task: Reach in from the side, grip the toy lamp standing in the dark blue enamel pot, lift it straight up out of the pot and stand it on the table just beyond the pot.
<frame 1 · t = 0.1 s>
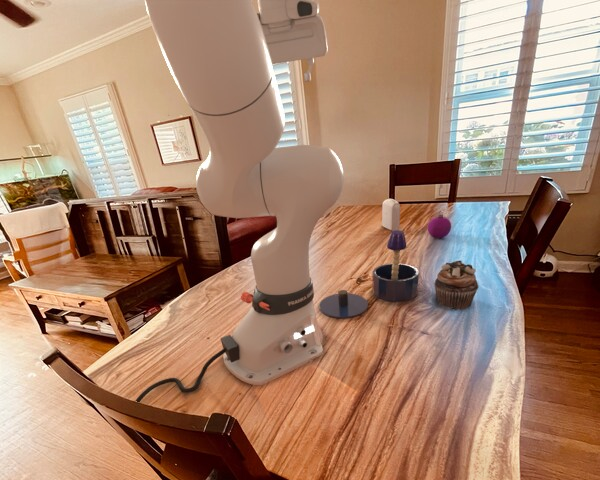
hand: (289, 83, 79), 52 cm above the table, tool tilted 20°, fingers open, 8 cm apart
pot lid: (343, 305, 80), point 1 cm above the table
pot: (394, 293, 84), on the table
christmas ornament: (438, 238, 120), on the table
toy lamp: (394, 292, 84), resting on pot
cupcake: (453, 302, 78), on the table
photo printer: (390, 228, 138), on the table
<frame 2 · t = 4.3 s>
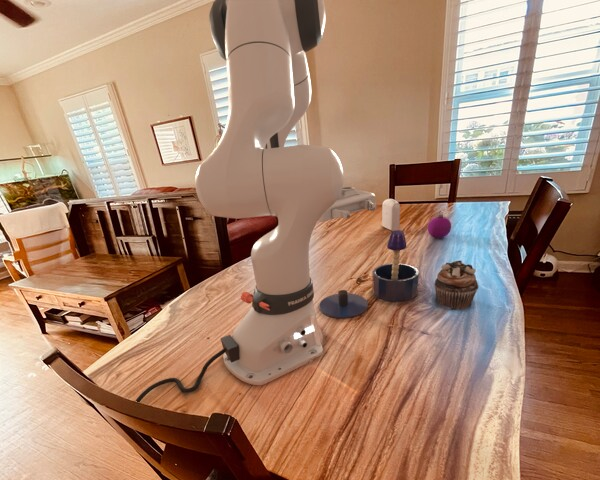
hand: (361, 211, 84), 21 cm above the table, tool horizontal, fingers open, 8 cm apart
nothing on the table moved.
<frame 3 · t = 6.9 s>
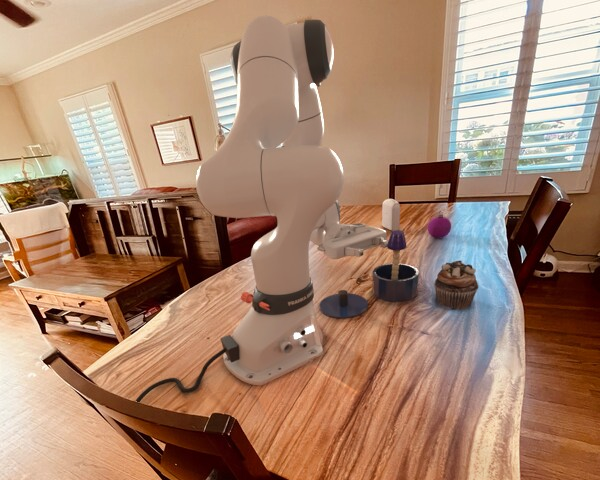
hand: (374, 249, 85), 11 cm above the table, tool horizontal, fingers open, 8 cm apart
nothing on the table moved.
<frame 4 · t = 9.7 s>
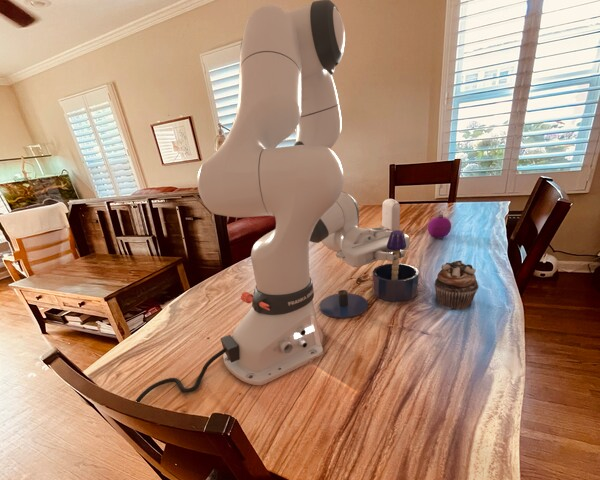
hand: (398, 256, 78), 11 cm above the table, tool horizontal, fingers closed on toy lamp
toy lamp: (394, 292, 84), resting on pot, touching gripper
everything else where it was.
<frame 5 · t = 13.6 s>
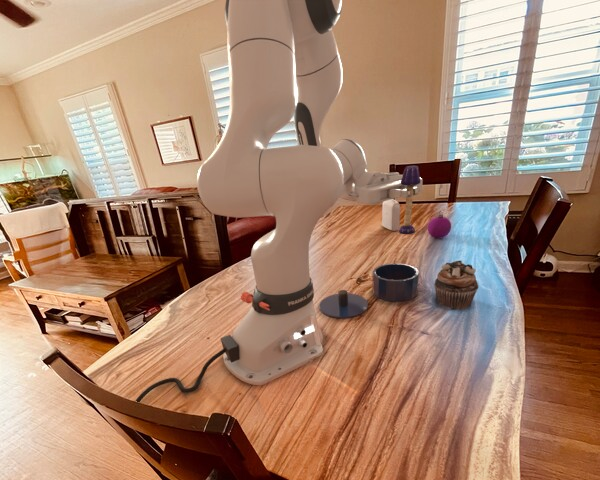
hand: (412, 192, 79), 25 cm above the table, tool horizontal, fingers closed on toy lamp
toy lamp: (407, 233, 85), point 14 cm above the table, touching gripper
everything else where it was.
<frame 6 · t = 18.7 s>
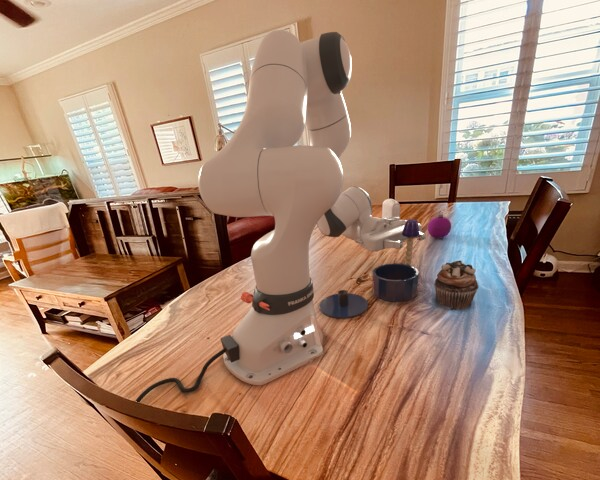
hand: (412, 241, 87), 11 cm above the table, tool horizontal, fingers open, 8 cm apart
toy lamp: (407, 276, 93), on the table
everything else where it was.
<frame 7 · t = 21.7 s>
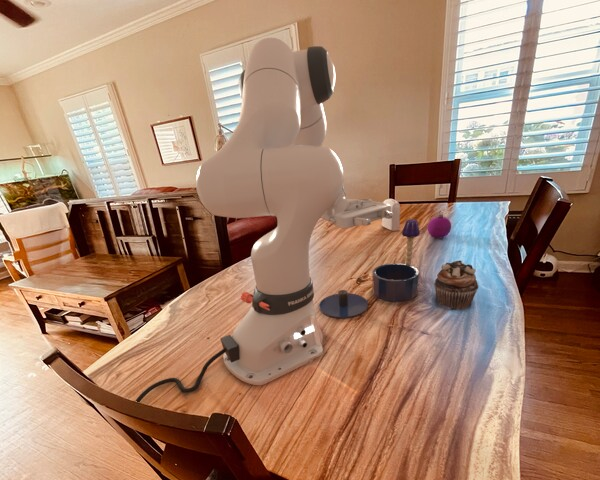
hand: (380, 219, 95), 15 cm above the table, tool horizontal, fingers open, 8 cm apart
nothing on the table moved.
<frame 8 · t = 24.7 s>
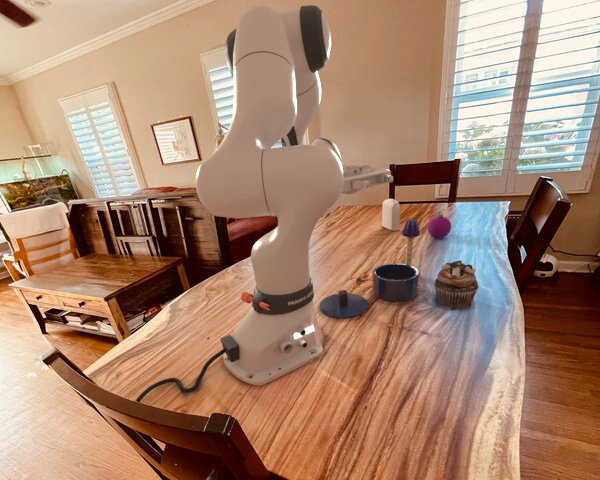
hand: (379, 182, 90), 26 cm above the table, tool horizontal, fingers open, 8 cm apart
nothing on the table moved.
at the end: toy lamp inside the target area (0.1 cm from its centre), on the table; toy lamp tilted 0° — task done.
